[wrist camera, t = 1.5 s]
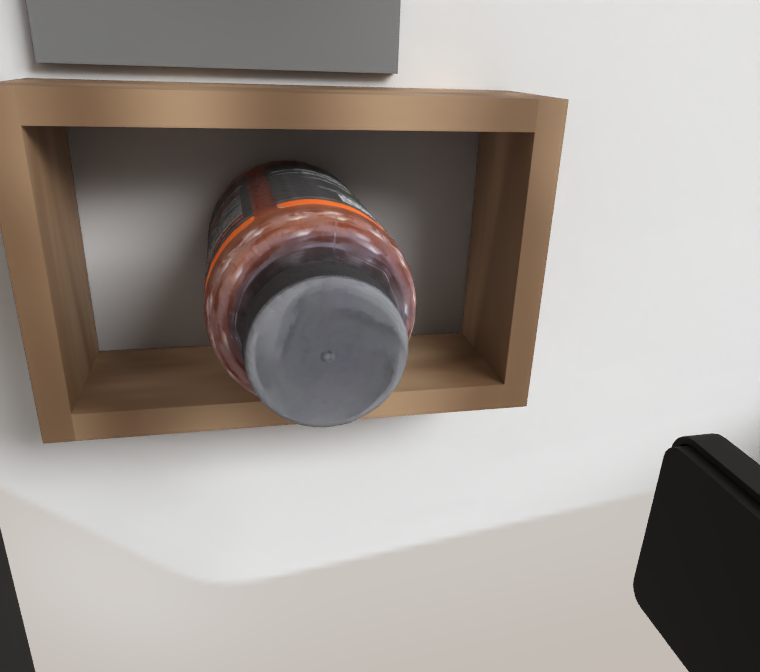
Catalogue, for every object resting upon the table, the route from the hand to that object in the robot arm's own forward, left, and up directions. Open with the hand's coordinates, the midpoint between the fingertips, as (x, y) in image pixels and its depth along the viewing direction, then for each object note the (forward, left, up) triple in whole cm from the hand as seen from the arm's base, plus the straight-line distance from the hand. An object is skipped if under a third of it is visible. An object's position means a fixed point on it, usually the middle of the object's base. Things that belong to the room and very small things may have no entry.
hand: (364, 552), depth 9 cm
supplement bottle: (0, 0, -18) cm, 18 cm away
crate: (0, 0, -18) cm, 18 cm away
